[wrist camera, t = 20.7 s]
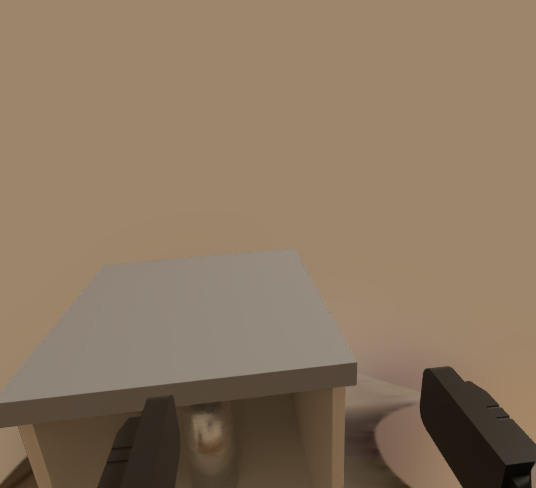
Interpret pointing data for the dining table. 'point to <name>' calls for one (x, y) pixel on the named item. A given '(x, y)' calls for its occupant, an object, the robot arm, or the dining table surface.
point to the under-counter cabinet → (190, 369)
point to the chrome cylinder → (211, 444)
